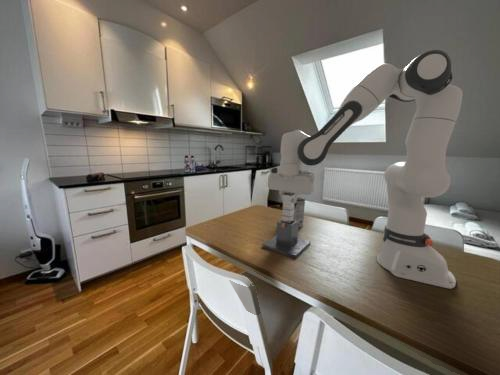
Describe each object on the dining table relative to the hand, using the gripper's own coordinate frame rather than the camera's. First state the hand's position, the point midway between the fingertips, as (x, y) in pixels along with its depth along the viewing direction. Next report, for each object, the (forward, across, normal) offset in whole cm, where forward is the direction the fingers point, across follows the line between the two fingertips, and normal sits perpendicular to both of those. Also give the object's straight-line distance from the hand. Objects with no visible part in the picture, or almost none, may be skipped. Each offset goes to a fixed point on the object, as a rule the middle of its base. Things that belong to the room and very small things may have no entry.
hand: (288, 201), depth 89 cm
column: (+19, 0, 0) cm, 19 cm away
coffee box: (+21, +9, -27) cm, 35 cm away
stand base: (+21, 0, 0) cm, 21 cm away
